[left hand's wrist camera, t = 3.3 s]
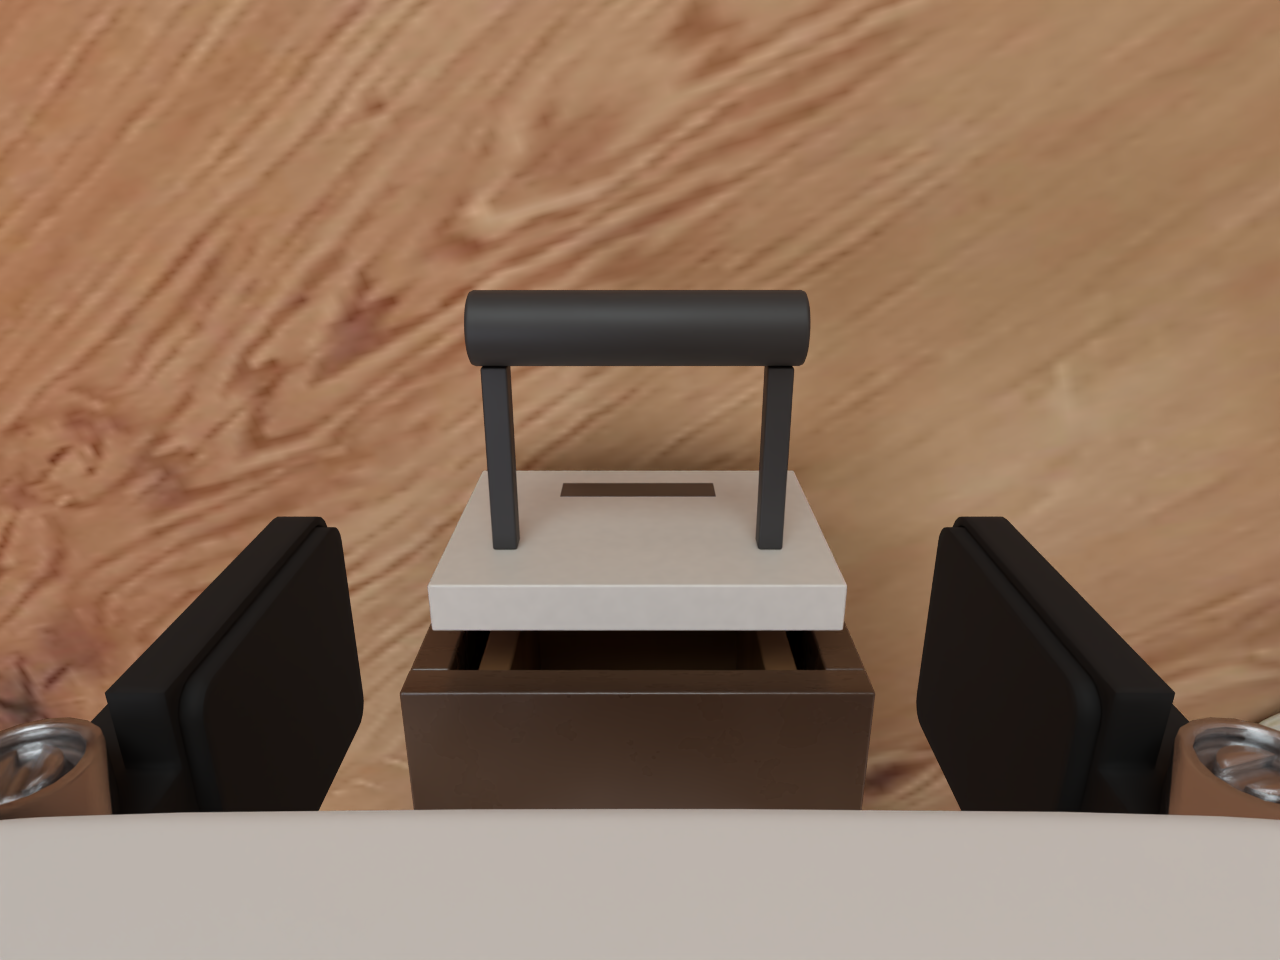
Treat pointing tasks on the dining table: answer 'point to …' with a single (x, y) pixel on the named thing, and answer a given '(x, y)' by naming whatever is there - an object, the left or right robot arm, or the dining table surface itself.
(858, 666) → the brown rectangular box
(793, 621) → the drawer
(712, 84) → the dining table surface
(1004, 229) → the dining table surface
